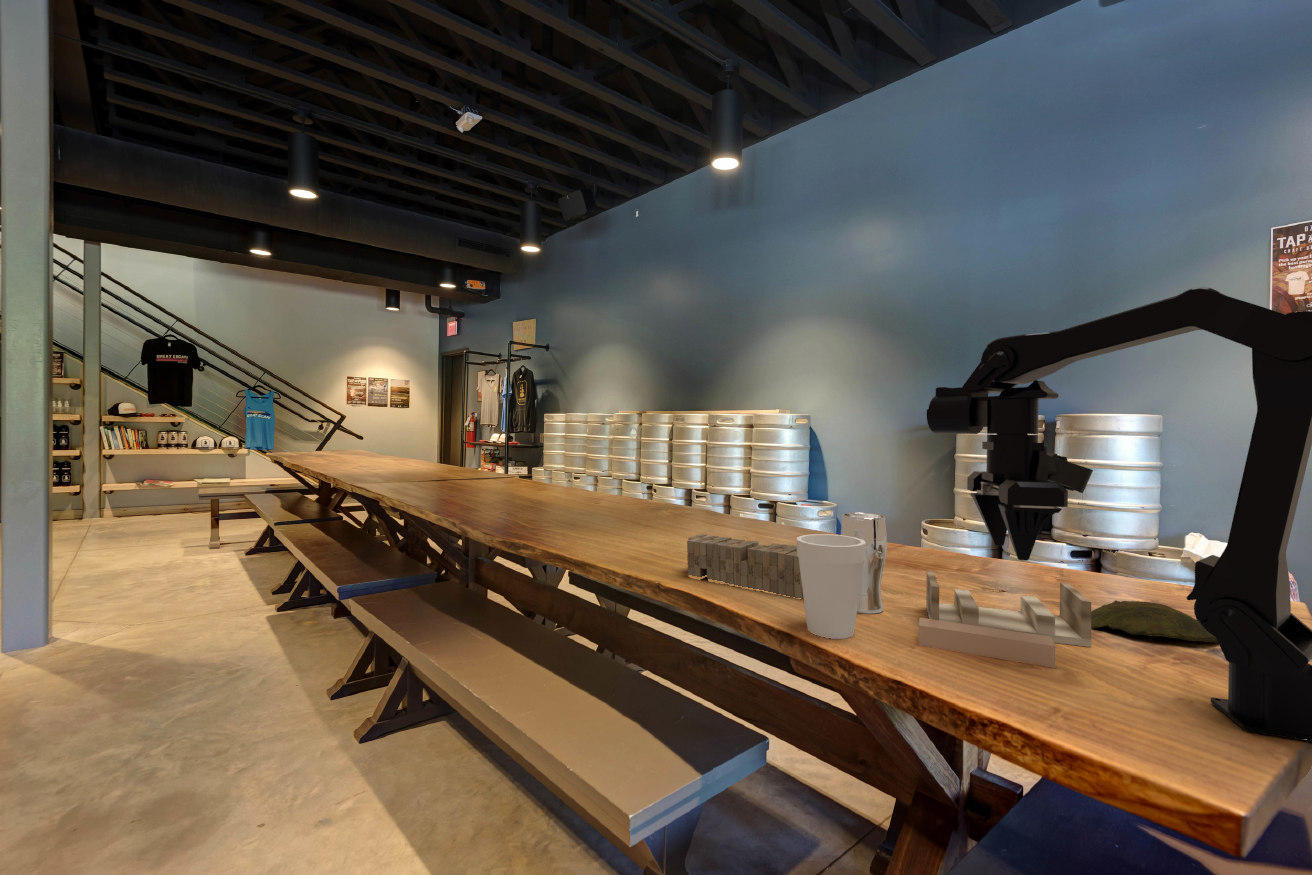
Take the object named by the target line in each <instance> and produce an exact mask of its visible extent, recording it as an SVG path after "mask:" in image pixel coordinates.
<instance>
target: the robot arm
mask: <svg viewBox="0 0 1312 875" xmlns="http://www.w3.org/2000/svg"><path fill="white" fill-rule="evenodd" d="M1195 331H1206V332H1208V333H1210V334H1214V335H1216V336H1218V337H1221V338H1224V339H1226V340H1229V341H1232V342H1234V343H1236V344H1240V345H1241V346H1242V345H1243V346H1245V347H1248V348H1249V349H1250V348H1251V361H1252V363H1251V364H1252V366H1251V367H1252V380H1253V386H1254V387H1253V388H1254V393H1255V400H1256V410H1257V411H1256V413H1255V414H1256V415H1255V419H1254V424H1253V428H1252V432H1251V438H1250V442H1249V446H1248V450H1247V454H1246V460H1245V464H1244V468H1243V473H1242V478H1241V482H1240V485H1239V489H1238V494H1237V495H1238V496H1237V500H1236V505H1235V508H1234V513H1233V517H1232V522H1231V526H1230V530H1229V536H1228V540H1227V543H1226V546H1225V547H1224V549H1223V551H1222V553H1221V555H1220V556H1217V555H1215V554H1211V555H1209V556H1206V557H1204V558H1202V559H1199V560H1197V561H1195V565H1194V584H1193V587H1192V590H1191V592H1190V593H1189V594H1188V595H1187V596H1186V600H1187V601H1195V602H1194V603H1193V604H1194V605H1193V612H1194V613H1193V614H1194V616H1195V619H1196V620H1197V621H1199V622H1200V624H1201V625H1202V626H1203V627H1204V628H1205V630H1206V631H1208V632H1209V633H1210V634H1212V635H1213V636H1215V637H1216V639H1217V641H1218V643H1217V644H1218V646H1219V647H1220V649H1221V652H1222V654H1223V656H1224V658H1225V661H1227V662H1228V677H1227V678H1228V679H1227V680H1228V686H1227V687H1228V688H1227V689H1228V691H1227V692H1228V693H1227V695H1228V696H1227V698H1221V697H1210V703H1211V704H1212V705H1213V706H1214V707H1215V708H1217V709H1218V710H1219V711H1221V712H1222V713H1224V715H1225V716H1227V717H1228V718H1229V719H1230V720H1232V721H1233V722H1234V723H1236V724H1237V725H1238V726H1239V727H1240V728H1241V729H1242V730H1245V731H1247V732H1251V733H1256V734H1263V735H1270V736H1275V737H1276V736H1277V737H1283V738H1289V739H1294V738H1295V740H1301V739H1307V740H1308V742H1312V664H1310V661H1311V660H1312V629H1311V628H1310V627H1309V626H1307V624H1305V623H1304V622H1303V621H1301V619H1299V618H1298V617H1297V616H1295V614H1293V613H1292V607H1291V604H1292V603H1291V602H1292V601H1291V582H1290V580H1291V579H1290V574H1289V569H1288V568H1289V567H1288V562H1287V550H1288V544H1289V541H1290V540H1289V539H1290V538H1291V537H1290V536H1291V533H1292V529H1293V523H1294V520H1295V516H1296V511H1297V508H1298V503H1299V499H1300V496H1301V492H1302V491H1301V490H1302V486H1303V483H1304V477H1305V474H1306V471H1307V465H1308V462H1309V458H1310V454H1311V450H1312V310H1311V311H1310V310H1301V311H1300V310H1299V311H1293V312H1291V311H1290V312H1288V313H1286V314H1285V313H1281V312H1279V311H1276V310H1272V309H1269V308H1267V307H1263V306H1261V305H1258V304H1254V303H1251V302H1248V301H1244V300H1241V299H1238V298H1234V297H1232V296H1229V295H1226V294H1225V293H1222V292H1220V291H1218V290H1217V289H1213V288H1212V287H1205V286H1198V287H1192V288H1190V289H1187V290H1185V291H1184V292H1181V293H1180V294H1177V295H1174V296H1171V297H1168V298H1165V299H1162V300H1157V301H1155V302H1151V303H1148V304H1145V305H1140V306H1138V307H1133V308H1131V309H1128V310H1126V311H1122V312H1118V313H1114V314H1112V315H1108V316H1105V317H1104V316H1103V317H1101V318H1098V319H1095V320H1091V321H1087V322H1085V323H1081V324H1078V325H1075V326H1071V327H1068V328H1064V329H1062V330H1056V331H1050V332H1049V331H1047V332H1036V333H1025V334H1019V335H1012V336H1005V337H1000V338H997V339H995V340H992V341H991V342H990V343H988V344H987V345H986V347H985V349H984V350H983V352H982V354H981V357H980V358H981V359H980V362H979V363H978V364H977V366H976V367H975V369H974V370H973V371H972V373H971V374H970V376H968V378H967V379H966V381H965V383H964V384H963V385H962V386H961V387H946V386H945V387H944V386H943V387H942V386H940V387H938V386H937V387H935V395H934V396H933V397H932V399H931V400H930V402H929V404H928V408H927V409H926V422H927V425H928V428H929V429H930V431H931V432H932V433H934V434H935V435H938V434H939V435H940V434H941V435H959V434H960V435H978V434H980V432H982V431H983V429H984V428H986V441H982V442H981V443H982V446H981V449H982V450H986V470H985V471H980V470H979V471H972V472H971V474H969V475H968V476H967V478H966V480H967V482H966V483H967V484H966V489H967V490H968V491H970V493H969V494H970V497H971V498H972V500H973V501H974V503H975V506H976V508H977V511H978V512H979V514H980V517H981V518H982V521H983V523H984V524H985V527H986V530H987V531H988V533H989V536H990V538H991V540H992V542H993V545H994V546H996V547H997V546H999V547H1001V546H1004V545H1005V541H1006V537H1007V534H1008V536H1009V539H1010V542H1011V544H1012V548H1013V550H1014V552H1015V555H1016V558H1017V560H1019V561H1030V560H1029V559H1030V557H1031V555H1032V551H1033V549H1034V546H1035V544H1036V541H1037V538H1038V536H1039V533H1040V531H1041V529H1042V526H1043V523H1045V520H1047V519H1049V518H1050V517H1052V516H1054V514H1057V513H1058V514H1059V513H1060V512H1061V511H1062V510H1063V509H1062V508H1067V507H1068V506H1069V505H1068V504H1069V502H1068V500H1069V498H1068V497H1069V491H1070V492H1071V491H1072V492H1074V491H1075V492H1077V493H1080V494H1084V492H1085V489H1086V487H1087V485H1088V483H1089V481H1090V478H1091V477H1092V474H1093V471H1094V470H1093V469H1091V468H1088V467H1085V466H1083V465H1080V464H1077V463H1073V462H1070V461H1068V457H1067V456H1063V455H1060V454H1059V455H1058V454H1057V453H1054V452H1050V453H1047V450H1048V448H1047V445H1045V442H1039V407H1040V406H1039V405H1040V404H1039V403H1040V402H1039V401H1040V400H1056V399H1058V398H1059V393H1057V392H1055V391H1054V390H1053V389H1051V388H1050V387H1049V386H1048V385H1047V384H1046V382H1045V381H1044V380H1040V379H1043V378H1045V377H1048V376H1050V375H1052V374H1054V373H1056V372H1058V371H1060V370H1061V369H1063V368H1065V367H1067V366H1069V365H1071V364H1074V363H1076V362H1078V361H1082V360H1086V359H1091V358H1093V357H1097V356H1101V355H1105V354H1110V353H1114V352H1116V351H1121V350H1124V349H1128V348H1132V347H1133V348H1134V347H1137V346H1141V345H1144V344H1148V343H1149V344H1150V343H1152V342H1157V341H1161V340H1163V339H1168V338H1172V337H1175V336H1180V335H1183V334H1188V333H1191V332H1195ZM1027 384H1029V385H1028V386H1021V387H1018V385H1027ZM1016 386H1017V387H1016ZM989 394H999V395H992V396H990V395H989ZM1307 740H1306V741H1307Z"/></svg>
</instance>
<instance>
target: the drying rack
mask: <svg viewBox="0 0 1312 875" xmlns="http://www.w3.org/2000/svg"><path fill="white" fill-rule="evenodd" d="M925 588H926V595H925V596H926V599H925V600H926V603H925V604H926V605H925V607H926V611H927V612H926V613H927V616H928V619H933V620H940V621H947V622H954V623H961V624H967V625H974V626H981V627H988V628H995V629H1002V630H1008V631H1015V632H1022V633H1029V634H1036V635H1043V636H1049V637H1052V639H1053V642H1054V644H1061V645H1071V646H1080V647H1087V648H1091V647H1092V629H1091V612H1092V601H1091V600H1090V599H1089V598H1087V597H1086V596H1085V595H1083V593H1081V592H1080V591H1078V590H1077V589H1076V588H1075V587H1074V586H1072V585H1071V584H1070V583H1069V582H1059V615H1056V614H1054V613H1052V612H1051V611H1050V610H1049V609H1048V608H1047V607H1046V605H1045V604H1044V603H1043V602H1041V601H1040V599H1039V598H1038V597H1037V596H1034V595H1033V596H1031V595H1020V611H1017V610H1008V609H1007V610H1006V609H1002V608H1001V609H1000V608H990V607H981V606H978V604H977V603H976V600H975V599H974V598H973V595H972V594H971V592H970V590H969V589H959V588H954V589H953V590H954V594H953V595H954V596H953V597H954V598H953V601H954V602H953V603H954V604H953V603H944V602H943V603H941V602H940V586H939V583H938V580H937V577H936V575H935V571H931V570H926V587H925Z"/></svg>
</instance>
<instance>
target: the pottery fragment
mask: <svg viewBox="0 0 1312 875" xmlns="http://www.w3.org/2000/svg"><path fill="white" fill-rule="evenodd" d="M1102 627H1103V628H1104V627H1109V628H1110V629H1112V630H1120V631H1124V632H1126V633H1127V634H1128V633H1129V634H1131V635H1132V636H1136V635H1137V636H1138V635H1143V636H1146V637H1163V638H1170V639H1178V640H1183V641H1184V640H1185V641H1188V642H1204V643H1211V644H1219V643H1218V641H1217V639H1216V637H1215V636H1213V635H1212V634H1210V633H1209V632H1208V631H1206V630H1205V628H1204V627H1203V626H1202V625H1201V624H1200V622H1199V621H1197V619H1196V618H1194V617H1192V616H1190V615H1189V614H1187V613H1185V612H1182V611H1180V610H1178V609H1175V608H1173V607H1171V606H1169V605H1166V604H1162V603H1156V602H1152V601H1151V602H1150V601H1139V600H1137V601H1136V600H1135V601H1134V600H1132V601H1129V600H1120V601H1119V600H1114V601H1112V602H1111V603H1107V604H1103V605H1101V606H1099V607H1097V608H1095V609H1094V610H1091V630H1098V629H1099V628H1102Z"/></svg>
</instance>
